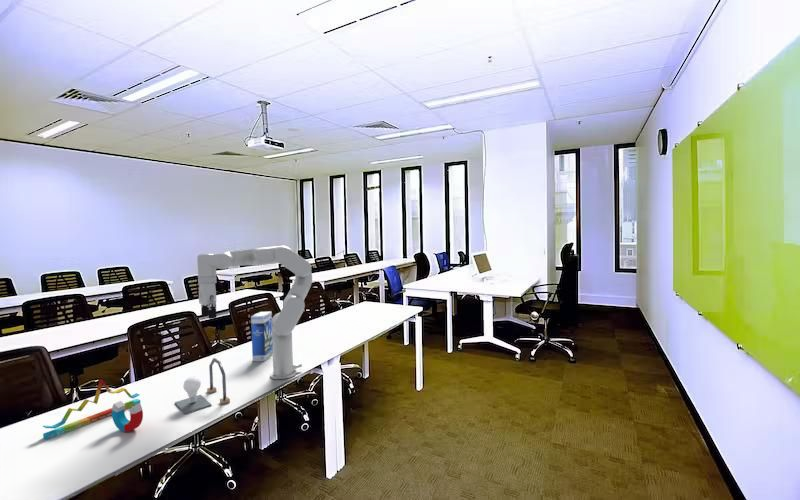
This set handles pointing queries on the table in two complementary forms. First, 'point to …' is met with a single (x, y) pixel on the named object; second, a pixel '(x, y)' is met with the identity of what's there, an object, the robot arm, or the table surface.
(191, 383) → the lightbulb
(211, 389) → the wire arch
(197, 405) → the mat
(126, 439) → the table surface
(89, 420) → the chart
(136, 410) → the magnet
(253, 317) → the string lights box
